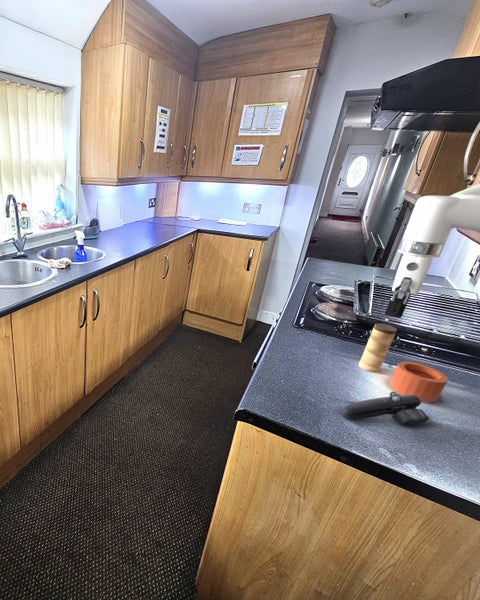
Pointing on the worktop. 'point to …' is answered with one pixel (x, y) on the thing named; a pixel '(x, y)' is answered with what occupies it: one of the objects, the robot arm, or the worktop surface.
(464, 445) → the worktop surface
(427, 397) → the bowl
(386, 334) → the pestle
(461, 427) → the worktop surface
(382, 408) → the can opener
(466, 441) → the worktop surface
